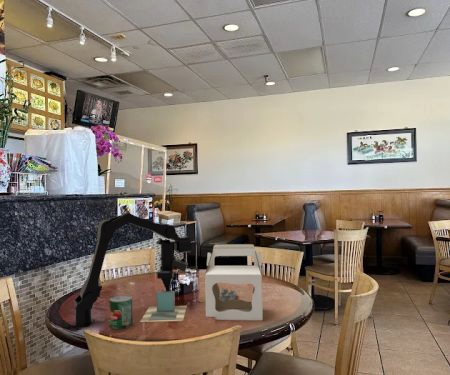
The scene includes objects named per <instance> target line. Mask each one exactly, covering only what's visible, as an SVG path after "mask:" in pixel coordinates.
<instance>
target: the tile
mask: <svg viewBox="0 0 450 375" xmlns="http://www.w3.org/2000/svg"><path fill="white" fill-rule="evenodd" d="M175 302H176V300H175V290H169V291H167V290H157V291H156V307H157V312H174V311H175V306H176V303H175Z"/></svg>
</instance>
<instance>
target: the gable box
mask: <svg viewBox="0 0 450 375" xmlns="http://www.w3.org/2000/svg"><path fill="white" fill-rule="evenodd" d="M261 253H262V252H261V251H258V252H257V251H256V249H255V245H254V244H253V243H250V244H249V243H244V244H243V243H242V244H241V243H238V244H237V243H236V244H234V243H231V244H230V243H229V244H222V243H220V244H218V243H217V244H214V245H213V249H212V251H211V252H207V258H206V270H205V273H204V281H205V282H204V284H205V285H204V287H205V291H204V294H205V318H206V317H208V318H209V317H211V318H213V317H214V320H215V321H263V319H264V318H263V316H264V314H263V280H262V279H263V278H262V277H263V276H262V274H263V273H262V271H263V270H262V265H263V262H262V254H261ZM219 256H220V257H253V265H252V264H251V265H243V264H242V265H241V264H239V265H235V264H233V265H229V264H226V265H223V264H222V265H215V258H216V257H219ZM220 283H224V284H225V283H226V284H230V285H231V284H232V285H243V284H248V285H249V284H250V285H252V286H253V289H252V297H251V301H246V300H243V299H237V298H236V299H234V300H229V301H221V300H220V297H219V296H220V293H221V290H220V287H219V284H220Z"/></svg>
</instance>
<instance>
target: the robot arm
mask: <svg viewBox="0 0 450 375" xmlns="http://www.w3.org/2000/svg"><path fill="white" fill-rule="evenodd" d="M127 224H130V225H133V226H135V227H139V228H143V229H144V230H147V231H148V230H149V231H151V232H153V233H155V234H156V235H158V236H159V239H158V240H157V241H156V242H155V244H156V245H160V257H159V260H160V268H159V269H160V270H159V271H158V272H157V274H156V277H157V279H158V280H159V279H160V280H161V281H162V284H163V285H164V286H163V287H164V288H165V291H171V284H172V279H173V278H174V277H175V275H176V272H174V271H178V270H179V271H181V272H184V273H185V272H186V270H187V267H188V265H189V263H188V262H187V259H186V258H184V257H182V258H181V259H178V258H176V257H177V256H176V255H175V252H176V253H177V254H182V253H191V252H192V249H193V245H192V241H191V239H190V236H183V237H182V236H181V237H180V236H179V235H178V233H177V230H176V227H175V226H174V225H170V224H165V223H159V222H158V223H157V222H154V221H153V220H149V219H145V218H142V217H139V216H137V215H135V214H134V215H133V214H132V213H130V212H124V213H122V214H120V215H117V216H115V217H113V218H110V219H103V220H100V221H99V223H98V225H97V234H96V235H97V243H96V245H95V246H96V247H95V250H94V254H93V258H92V261H91V265H90V268H89V271H88V276H87V277H86V279H85V281H84V282H83V285H82V287H81V289H80V291H79V294H78V295H77V296H76V297H75V299H73V303H74V304H75V307H74V312H75V316H74V323H72V324H71V327H72V328H73V327H74V328H75V327H89V326H91V325H92V324H93V323H94V322H95V320H96V319H94V318H92V309H93V306H94V304H95V303H96V302H97V300H98V298H100V297H101V292H102V288H103V285H102V284H100V280H99V279H100V276H101V273H102V268H103V267H104V266H103V265H104V261H105V257H106V254H107V250H108V246H109V244H110V242H111V240H112V239H113V237H114V234H115V232H116V230H118V229H120V228H122V227H123V226H125V225H127ZM160 237H162V238H165V239H162V238H160Z"/></svg>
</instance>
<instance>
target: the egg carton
mask: <svg viewBox="0 0 450 375" xmlns="http://www.w3.org/2000/svg"><path fill="white" fill-rule="evenodd" d="M237 293H238V290H230V291H229V290H228V289H227V288H224V287H223V288H221V290H220V296H219V298H220V300H221V301H229V300H234V299H237V297H238V296H237Z"/></svg>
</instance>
